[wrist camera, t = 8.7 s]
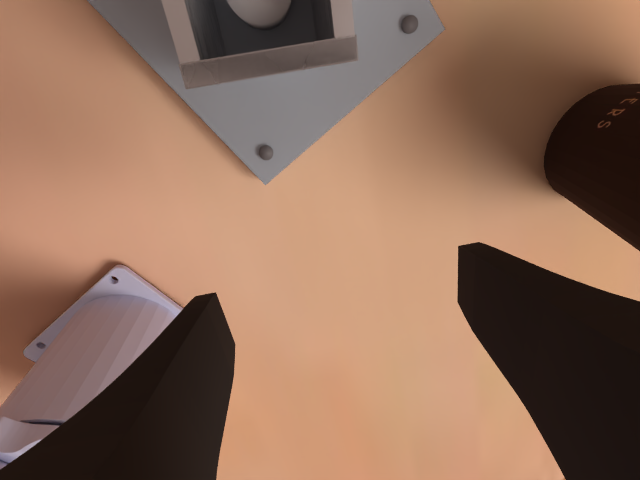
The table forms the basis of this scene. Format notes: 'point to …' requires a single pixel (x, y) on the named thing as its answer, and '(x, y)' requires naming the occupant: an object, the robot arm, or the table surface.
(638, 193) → the coffee mug
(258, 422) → the table surface
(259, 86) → the panel
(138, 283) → the robot arm
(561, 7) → the table surface
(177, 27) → the elbow
